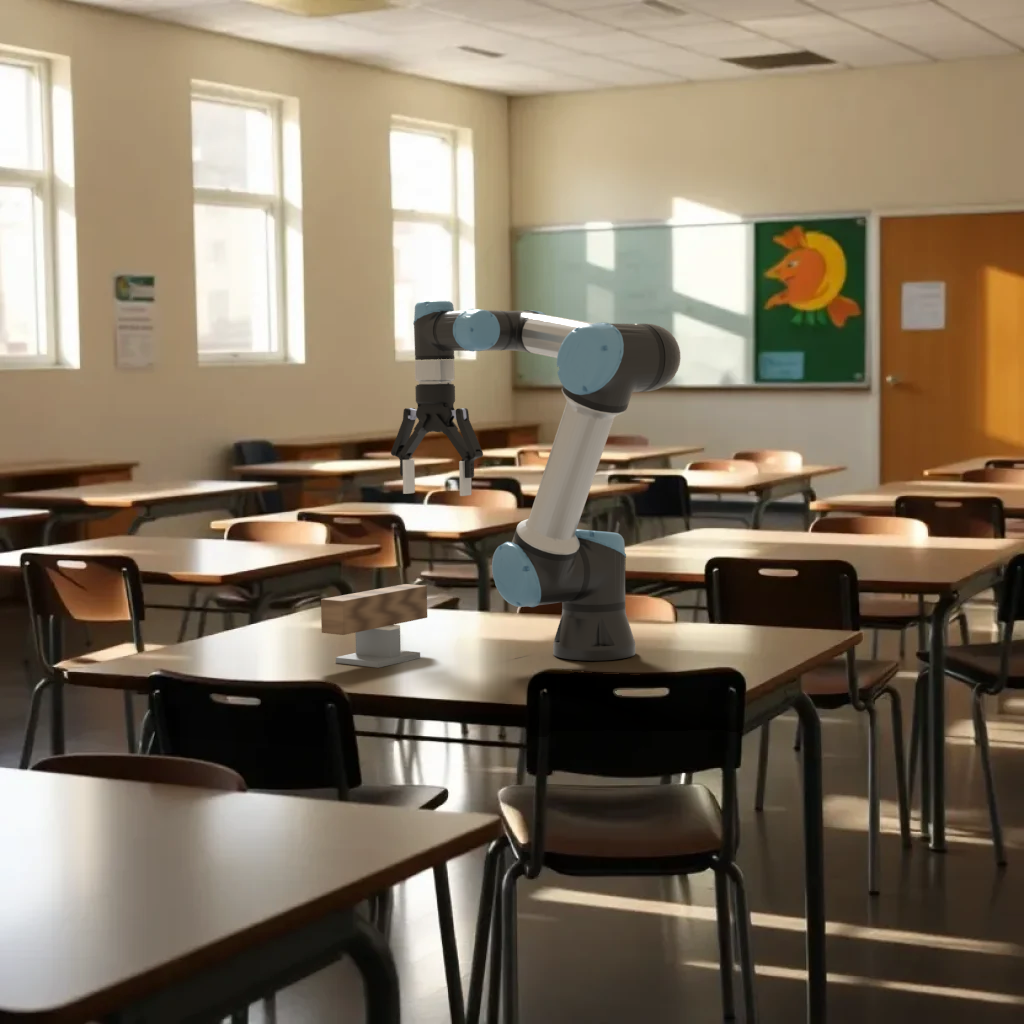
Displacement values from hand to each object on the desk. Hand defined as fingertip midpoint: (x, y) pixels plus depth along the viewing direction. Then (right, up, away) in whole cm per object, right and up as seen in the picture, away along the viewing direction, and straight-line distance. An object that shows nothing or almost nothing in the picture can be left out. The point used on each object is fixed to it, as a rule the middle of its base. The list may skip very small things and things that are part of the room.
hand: (437, 494), depth 331 cm
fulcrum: (-10, -30, -16) cm, 36 cm away
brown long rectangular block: (-10, -24, -17) cm, 31 cm away
